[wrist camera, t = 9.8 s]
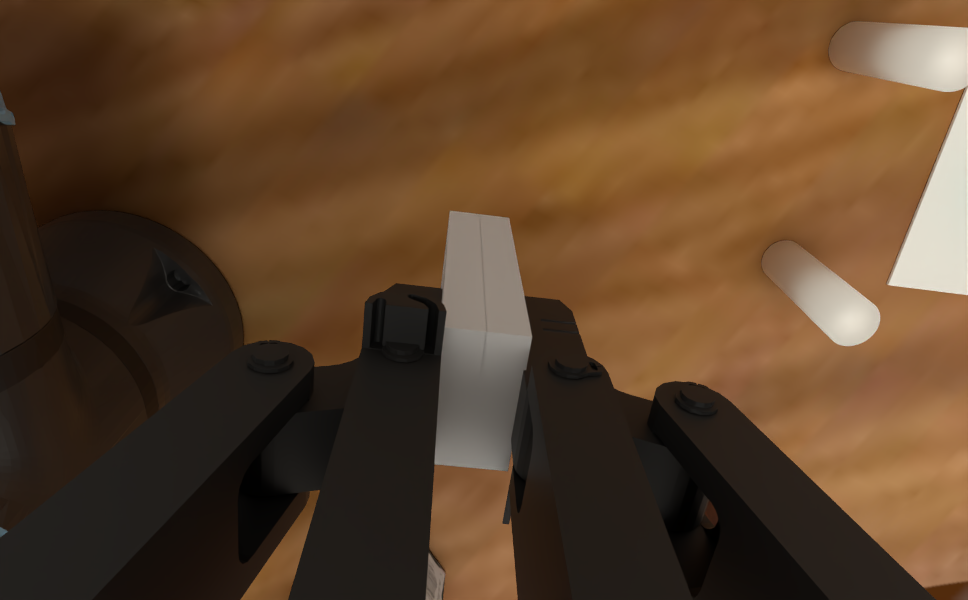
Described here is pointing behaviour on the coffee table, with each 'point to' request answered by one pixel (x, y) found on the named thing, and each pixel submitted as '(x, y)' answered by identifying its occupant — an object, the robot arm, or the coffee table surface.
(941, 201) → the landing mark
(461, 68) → the coffee table surface
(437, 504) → the coffee table surface
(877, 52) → the post
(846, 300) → the post
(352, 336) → the coffee table surface
